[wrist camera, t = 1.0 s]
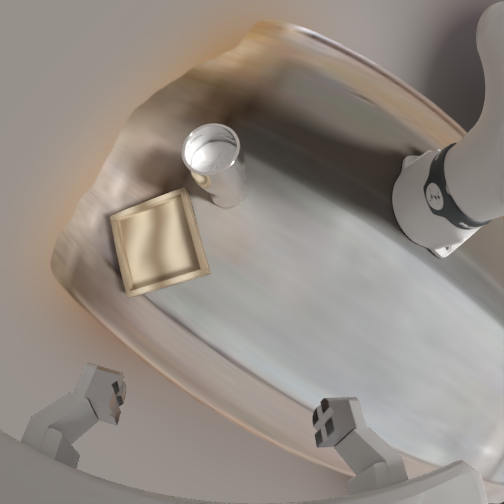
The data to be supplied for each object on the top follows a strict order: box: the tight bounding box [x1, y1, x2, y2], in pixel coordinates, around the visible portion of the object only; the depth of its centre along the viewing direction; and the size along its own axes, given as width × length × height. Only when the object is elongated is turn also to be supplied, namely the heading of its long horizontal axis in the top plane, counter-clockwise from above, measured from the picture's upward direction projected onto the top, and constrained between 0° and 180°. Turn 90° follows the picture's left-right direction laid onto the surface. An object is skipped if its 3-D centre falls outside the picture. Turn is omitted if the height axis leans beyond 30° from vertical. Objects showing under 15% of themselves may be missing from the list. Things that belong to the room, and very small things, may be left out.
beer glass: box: [181, 123, 247, 208], centre depth 37 cm, size 7×7×15 cm
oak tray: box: [110, 187, 211, 297], centre depth 42 cm, size 14×14×3 cm
